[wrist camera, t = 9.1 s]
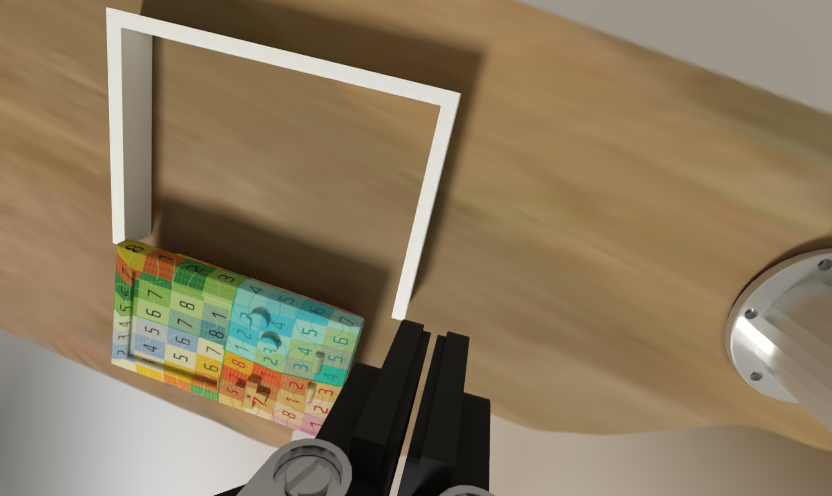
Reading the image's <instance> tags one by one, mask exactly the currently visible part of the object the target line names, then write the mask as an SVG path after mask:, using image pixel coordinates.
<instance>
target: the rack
mask: <svg viewBox="0 0 832 496" xmlns="http://www.w3.org/2000/svg"><path fill="white" fill-rule="evenodd" d="M106 16H107V51H108V86H109V121H110V157H111V192H112V227H113V243H114V244H118V243H120V242H122V241H125V240H127V239H128V240H133V241H138V240H141V239H143V238H145V237H148V236H150V235H151V178H152V35H154V36H158V37H163V38H167V39H171V40H175V41H179V42H183V43H187V44H191V45H195V46H199V47H203V48H208V49H212V50H216V51H220V52H224V53H228V54H232V55H236V56H240V57H244V58H248V59H253V60H257V61H261V62H265V63H269V64H273V65H277V66H281V67H285V68H289V69H293V70H297V71H302V72H306V73H310V74H314V75H318V76H322V77H326V78H330V79H334V80H338V81H342V82H347V83H351V84H355V85H359V86H363V87H367V88H371V89H375V90H379V91H383V92H387V93H392V94H396V95H400V96H404V97H408V98H412V99H416V100H420V101H424V102H428V103H432V104H437V105H441V109H440V113H439V118H438V122H437V126H436V130H435V135H434V139H433V143H432V147H431V152H430V156H429V160H428V164H427V169H426V173H425V177H424V181H423V186H422V190H421V194H420V198H419V203H418V207H417V211H416V215H415V220H414V224H413V228H412V232H411V237H410V241H409V245H408V249H407V254H406V258H405V262H404V266H403V271H402V275H401V279H400V283H399V288H398V292H397V296H396V300H395V305H394V309H393V313H392V317H391V318H395V319H398V320H403V319H405V316H406V313H407V309H408V306H409V303H410V299H411V295H412V291H413V287H414V283H415V279H416V275H417V271H418V267H419V263H420V259H421V255H422V251H423V247H424V243H425V239H426V235H427V231H428V227H429V223H430V219H431V215H432V211H433V207H434V203H435V198H436V194H437V190H438V186H439V182H440V178H441V174H442V170H443V166H444V162H445V158H446V154H447V150H448V146H449V142H450V138H451V134H452V130H453V126H454V122H455V118H456V114H457V110H458V106H459V102H460V98H461V94H462V93H458V92H453V91H449V90H445V89H441V88H437V87H433V86H429V85H425V84H421V83H416V82H412V81H408V80H404V79H400V78H396V77H392V76H388V75H383V74H379V73H375V72H371V71H367V70H363V69H359V68H355V67H350V66H346V65H342V64H338V63H334V62H330V61H326V60H322V59H318V58H313V57H309V56H305V55H301V54H297V53H293V52H289V51H285V50H280V49H276V48H272V47H268V46H264V45H260V44H256V43H252V42H248V41H243V40H239V39H235V38H231V37H227V36H223V35H219V34H215V33H210V32H206V31H202V30H198V29H194V28H190V27H186V26H182V25H178V24H173V23H169V22H165V21H161V20H157V19H153V18H149V17H145V16H140V15H136V14H132V13H128V12H124V11H120V10H116V9H111V8H107V7H106Z"/></svg>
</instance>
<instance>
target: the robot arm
mask: <svg viewBox="0 0 832 496" xmlns="http://www.w3.org/2000/svg"><path fill="white" fill-rule="evenodd" d="M423 328H424V325H423V324H419V323H416V322H412V321H408V320H405V319H403V320H402V322H401V324H400V327H399V329H398V331H397V333H396V336H395V338H394V340H393V343H392V345H391V347H390V350H389V352H388V354H387V357H386V359H385V361H384V364H383V366H382V368H381V369H380V368H377V367H373V366H370V365H366V364H363V363H359V362H357V363H356V364H355V366H354V367H353V369H352V371H351V373H350V375H349V376H348V378H347V380H346V382H345V384H344V386H343V387H342V389H341V391H340V393H339V395H338V397H337V399H336V400H335V402H334V404H333V406H332V408H331V410H330V412H329V413H328V415H327V417H326V419H325V421H324V423H323V425H322V426H321V428H320V430H319V432H318V434H317V436H316V438H315V439H301V440H296V441H292V442H290V443H288V444H286V445H284V446H282V447H280V448H279V449H278V450H277V451H276V452H275V453H273V454H272V455H271V457H270V458H269V459H268V460H267V461H266V462H265V464H263V466H262V467H261V468H260V469H259V470H258V471H257V472H256V474H255V475H254V476H253V477H252V478H251V479H250V480H249V482H248V483H247V484H245V485H242V486H240V487H237V488H234V489H231V490H228V491H225V492H223V493H220V494H217V495H214V496H389V494H390V490H391V486H392V483H393V479H394V476H395V472H396V468H397V465H398V461H399V457H400V454H401V450H402V446H403V443H404V439H405V435H406V432H407V428H408V424H409V420H410V416H411V412H412V408H413V404H414V400H415V396H416V392H417V388H418V384H419V380H420V376H421V372H422V368H423V363H424V359H425V355H426V351H427V347H428V343H429V339H430V335H431V333H430V332H426V331H423ZM725 346H726V351H727V354H728V357H729V360H730V362H731V364H732V365H733V366H734V368H735V369H736V371H737V372H738V373H739V374H740V376H741V377H742V378H743V379H744V380H745V381H746V382H747V383H748V384H750V385H751V386H752V387H754V388H755V389H756V390H758V391H759V392H761V393H763V394H765V395H767V396H770V397H772V398H774V399H778V400H782V401H785V402H790V403H799V404H801V405H802V406H803V407H805V408H806V409H807V410H808V411H809V412H810V413H811V414H812V415H813V416H814V417H815V418H816V419H817V420H818V421H819V422H820V423H822V424H823V425H824V426H825V427H826V428H827V429H828V430H829V431H830V432H831V433H832V248H829V249H819V250H815V251H811V252H807V253H803V254H800V255H797V256H795V257H792V258H790V259H787V260H785V261H782V262H781V263H779V264H777V265H775V266H774V267H772V268H770V269H769V270H767V271H765V272H764V273H763V274H762V275H760V276H759V277H758V278H757V279H755V280H754V281H753V282H752V283H751V284H750V285H749V286H748V287H747V288H746V289H745V290H744V292H743V293H742V294H741V295H740V296H739V298H738V299H737V301H736V303H735V304H734V306H733V308H732V309H731V312H730V315H729V317H728V320H727V323H726V330H725ZM468 347H469V337H467V336H464V335H460V334H456V333H453V332H449V331H448V332H447V336H446V337H445V336H441V335H438V336H437V340H436V344H435V348H434V352H433V356H432V360H431V364H430V368H429V372H428V376H427V380H426V384H425V387H424V391H423V395H422V399H421V403H420V407H419V411H418V415H417V419H416V423H415V427H414V431H413V435H412V439H411V443H410V447H409V451H408V455H407V459H406V462H405V467H404V471H403V474H402V479H401V482H400V486H399V490H398V494H397V496H495V495H493V494H491V493H489V459H490V457H489V456H490V455H489V454H490V400H489V399H486V398H482V397H479V396H475V395H472V394H468V393H465V392H464V383H465V374H466V365H467V356H468Z"/></svg>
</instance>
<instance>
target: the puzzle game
mask: <svg viewBox="0 0 832 496" xmlns="http://www.w3.org/2000/svg"><path fill="white" fill-rule="evenodd" d="M364 322H365V319H364V318H363V317H362V316H360V315H359V314H356V313H353V312H350V311H347V310H344V309H341V308H338V307H335V306H332V305H329V304H326V303H324V302H321V301H318V300H315V299H312V298H309V297H306V296H303V295H300V294H297V293H294V292H291V291H288V290H285V289H282V288H279V287H277V286H274V285H271V284H268V283H265V282H262V281H259V280H256V279H253V278H250V277H247V276H244V275H241V274H238V273H235V272H233V271H230V270H227V269H224V268H221V267H218V266H215V265H212V264H209V263H206V262H203V261H200V260H197V259H194V258H191V257H188V256H186V255H183V254H173V253H170V252H167V251H164V250H161V249H158V248H155V247H152V246H149V245H147V244H144V243H142V242H139V241H133V240H128V239H127V240H125V241H122V242H120V243H118V244H117V259H116V279H115V299H114V318H113V338H112V358H111V363H112V364H114V365H117V366H120V367H123V368H126V369H128V370H131V371H134V372H137V373H140V374H142V375H145V376H148V377H151V378H154V379H156V380H159V381H162V382H165V383H168V384H170V385H173V386H176V387H179V388H182V389H184V390H187V391H190V392H193V393H196V394H198V395H201V396H204V397H207V398H210V399H212V400H215V401H218V402H221V403H224V404H226V405H229V406H232V407H235V408H238V409H240V410H243V411H246V412H249V413H251V414H254V415H257V416H260V417H263V418H265V419H268V420H271V421H274V422H277V423H279V424H282V425H285V426H288V427H291V428H293V429H296V430H299V431H302V432H305V433H307V434H310V435H313V436H317V434H318V432H319V430H320V428H321V426H322V425H323V423H324V421H325V419H326V417H327V415H328V413H329V412H330V410H331V408H332V406H333V404H334V402H335V400H336V399H337V397H338V395H339V393H340V391H341V389H342V387H343V386H344V384H345V382H346V380H347V378H348V374H349V371H350V368H351V365H352V361H353V358H354V355H355V351H356V348H357V345H358V342H359V338H360V335H361V332H362V328H363V325H364Z"/></svg>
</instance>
